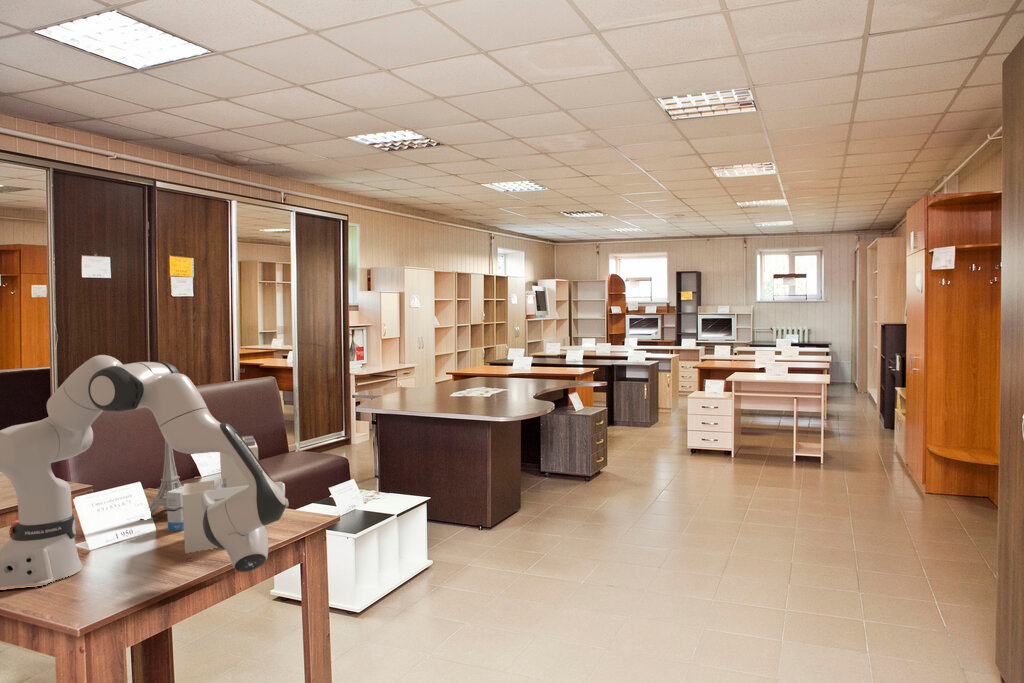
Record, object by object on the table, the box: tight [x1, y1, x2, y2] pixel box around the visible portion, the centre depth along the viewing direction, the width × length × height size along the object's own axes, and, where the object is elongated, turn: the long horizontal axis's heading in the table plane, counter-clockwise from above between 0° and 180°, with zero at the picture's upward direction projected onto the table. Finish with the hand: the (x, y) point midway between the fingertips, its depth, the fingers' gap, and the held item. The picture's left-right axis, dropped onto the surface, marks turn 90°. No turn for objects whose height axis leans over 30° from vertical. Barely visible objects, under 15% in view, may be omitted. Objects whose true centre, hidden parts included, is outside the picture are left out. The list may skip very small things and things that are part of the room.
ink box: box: [166, 485, 184, 532], centre depth 208 cm, size 8×5×12 cm, turn 168°
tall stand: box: [219, 438, 259, 488], centre depth 202 cm, size 10×14×26 cm
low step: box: [182, 480, 218, 554], centre depth 192 cm, size 8×14×16 cm, turn 24°
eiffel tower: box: [148, 439, 183, 515], centre depth 222 cm, size 13×13×30 cm
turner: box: [241, 435, 256, 446], centre depth 198 cm, size 23×9×3 cm, turn 24°
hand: (242, 478), depth 181 cm, fingers open, 8 cm apart
